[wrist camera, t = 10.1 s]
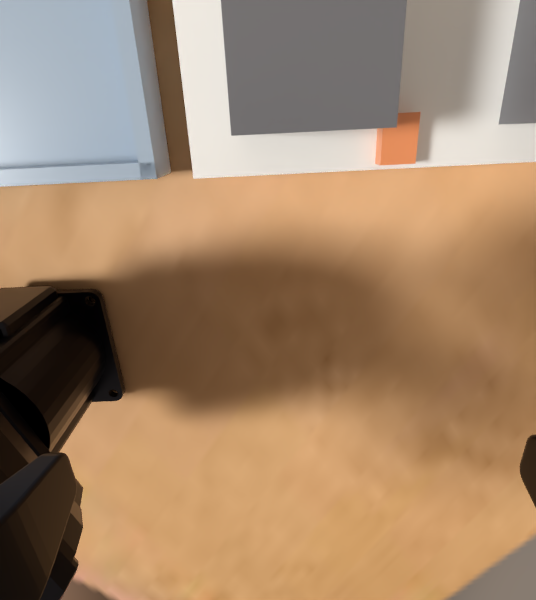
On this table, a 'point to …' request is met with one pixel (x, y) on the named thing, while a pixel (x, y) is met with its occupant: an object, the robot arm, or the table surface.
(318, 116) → the grey block with knob
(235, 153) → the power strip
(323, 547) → the table surface
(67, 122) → the tray
